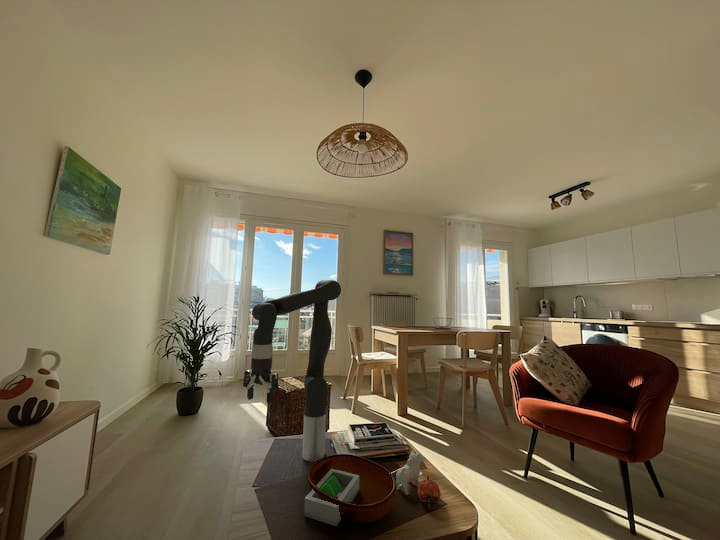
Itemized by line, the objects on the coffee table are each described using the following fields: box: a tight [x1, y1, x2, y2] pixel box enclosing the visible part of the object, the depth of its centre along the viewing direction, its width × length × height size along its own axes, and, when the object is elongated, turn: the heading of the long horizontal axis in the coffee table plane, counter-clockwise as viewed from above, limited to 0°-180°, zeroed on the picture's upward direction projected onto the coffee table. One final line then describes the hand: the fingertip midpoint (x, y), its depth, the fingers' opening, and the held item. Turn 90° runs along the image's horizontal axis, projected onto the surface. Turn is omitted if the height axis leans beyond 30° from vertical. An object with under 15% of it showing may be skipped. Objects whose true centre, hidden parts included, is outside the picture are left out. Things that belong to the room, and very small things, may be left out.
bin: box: [303, 468, 360, 527], centre depth 97 cm, size 18×11×5 cm, turn 158°
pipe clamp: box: [315, 475, 342, 499], centre depth 98 cm, size 11×4×5 cm
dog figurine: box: [396, 449, 423, 496], centre depth 108 cm, size 5×13×11 cm, turn 137°
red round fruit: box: [417, 475, 442, 508], centre depth 98 cm, size 7×7×10 cm
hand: (259, 400), depth 111 cm, fingers open, 8 cm apart
